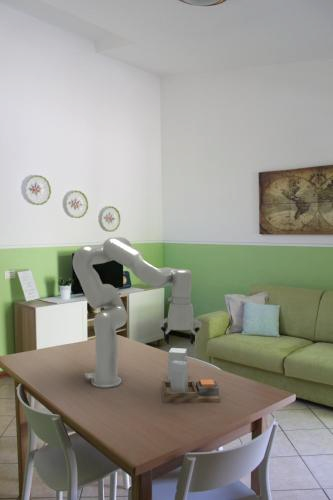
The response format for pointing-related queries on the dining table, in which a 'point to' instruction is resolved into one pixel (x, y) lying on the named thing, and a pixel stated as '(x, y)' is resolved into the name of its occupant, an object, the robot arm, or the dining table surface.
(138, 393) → the dining table surface
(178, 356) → the supplement box
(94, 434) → the dining table surface
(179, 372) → the skincare box
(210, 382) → the button
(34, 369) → the dining table surface
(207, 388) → the tray
